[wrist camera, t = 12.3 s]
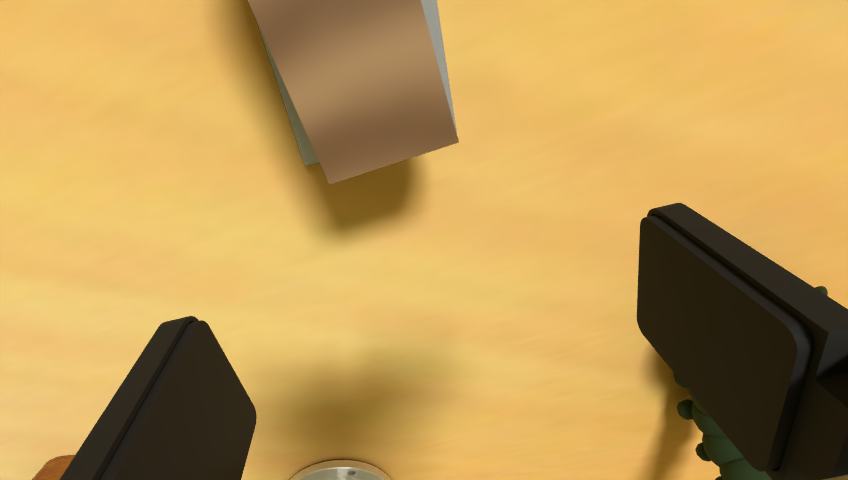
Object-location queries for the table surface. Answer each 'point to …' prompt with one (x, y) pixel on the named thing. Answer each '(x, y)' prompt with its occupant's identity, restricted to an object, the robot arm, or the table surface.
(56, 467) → the disposable coffee cup
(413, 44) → the shelf plank
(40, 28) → the table surface
